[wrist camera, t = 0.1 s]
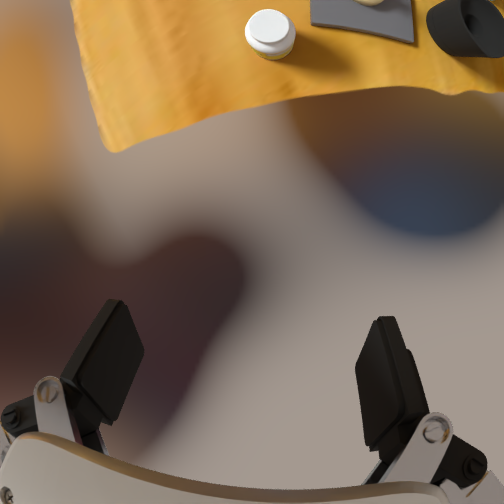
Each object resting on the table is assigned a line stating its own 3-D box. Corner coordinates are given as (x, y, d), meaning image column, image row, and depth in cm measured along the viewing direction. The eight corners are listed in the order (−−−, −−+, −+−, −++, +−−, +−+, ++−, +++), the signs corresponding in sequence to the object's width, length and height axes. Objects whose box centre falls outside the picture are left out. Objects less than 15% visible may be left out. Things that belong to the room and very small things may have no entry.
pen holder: (459, 70, 25) (499, 72, 16) (413, 28, 23) (448, 15, 15) (477, 35, 20) (516, 32, 12) (434, -6, 19) (468, -22, 10)
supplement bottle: (246, 30, 27) (234, 10, 19) (286, 21, 26) (288, -2, 18) (257, 65, 30) (249, 54, 22) (298, 56, 29) (304, 42, 20)
